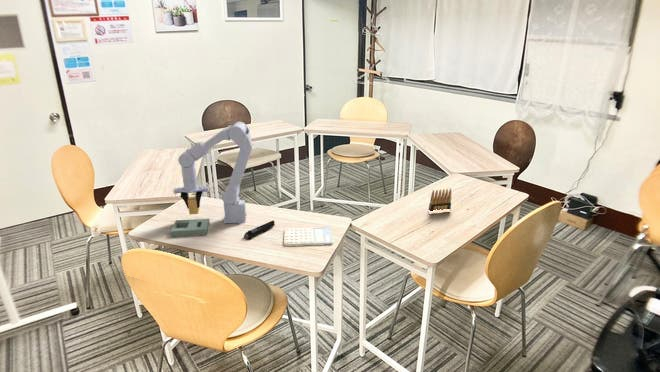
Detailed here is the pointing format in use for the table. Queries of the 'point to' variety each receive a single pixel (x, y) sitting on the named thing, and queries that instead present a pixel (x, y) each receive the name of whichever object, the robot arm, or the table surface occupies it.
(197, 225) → the socket plate
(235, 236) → the table surface
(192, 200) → the square peg
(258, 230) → the electric trimmer
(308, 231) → the calculator
